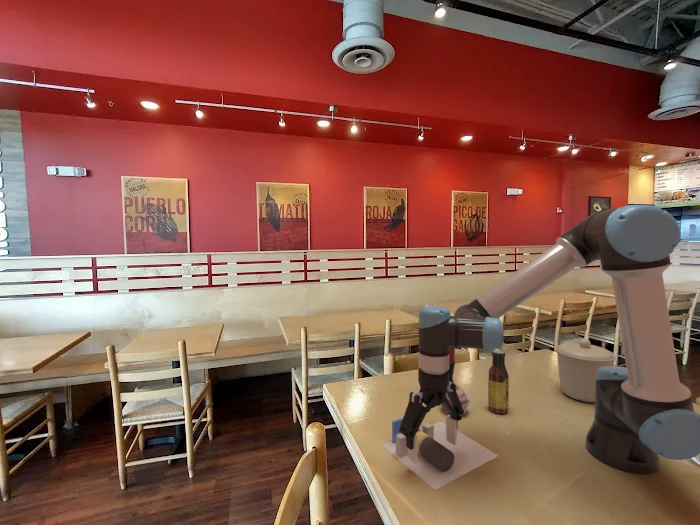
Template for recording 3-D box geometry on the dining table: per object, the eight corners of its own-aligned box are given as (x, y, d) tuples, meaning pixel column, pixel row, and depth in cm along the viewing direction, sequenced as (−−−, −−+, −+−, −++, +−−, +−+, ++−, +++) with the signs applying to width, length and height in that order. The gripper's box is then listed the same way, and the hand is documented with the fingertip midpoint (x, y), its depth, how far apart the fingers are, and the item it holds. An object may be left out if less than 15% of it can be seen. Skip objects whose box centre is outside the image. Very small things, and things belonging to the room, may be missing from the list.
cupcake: (450, 423, 106) (450, 391, 105) (435, 408, 115) (435, 380, 114) (476, 418, 108) (476, 388, 108) (459, 405, 117) (459, 376, 117)
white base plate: (498, 458, 89) (499, 433, 88) (435, 493, 77) (435, 464, 76) (441, 423, 106) (441, 402, 105) (381, 447, 94) (381, 423, 93)
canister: (564, 405, 117) (566, 345, 116) (547, 383, 135) (548, 331, 133) (625, 411, 113) (628, 348, 111) (599, 388, 130) (601, 333, 129)
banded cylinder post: (453, 468, 84) (455, 448, 84) (438, 474, 81) (440, 453, 81) (419, 443, 94) (421, 425, 94) (405, 448, 91) (407, 429, 91)
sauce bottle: (510, 415, 110) (511, 355, 109) (490, 414, 111) (491, 354, 110) (505, 406, 116) (506, 349, 115) (486, 404, 118) (487, 348, 116)
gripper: (456, 355, 95) (455, 429, 96) (384, 374, 82) (384, 459, 83) (478, 363, 88) (477, 442, 90) (405, 385, 75) (404, 477, 77)
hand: (432, 451), depth 86 cm, fingers open, 13 cm apart
